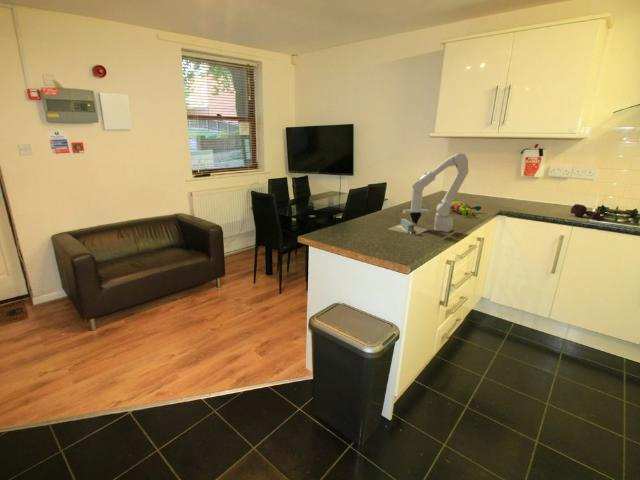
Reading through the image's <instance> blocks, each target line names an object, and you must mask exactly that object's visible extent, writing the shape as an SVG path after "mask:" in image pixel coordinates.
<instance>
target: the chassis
mask: <svg viewBox="0 0 640 480" xmlns="http://www.w3.org/2000/svg"><path fill="white" fill-rule="evenodd" d="M398 226H401V223H399V224H396V225H395V226H392V227H388V230H391V231H396V232H400V233H405V234H409V235H414V236H415V235H416V236H417V235H420V234H421V233H424V232H426V231H428V230H429V229H428V228H422V227H418V226H411V227H410V232H409V231H404V230H402V229H401V228H396V227H398Z"/></svg>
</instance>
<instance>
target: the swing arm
mask: <svg viewBox="0 0 640 480" xmlns="http://www.w3.org/2000/svg"><path fill="white" fill-rule="evenodd" d="M400 224H401V226H403V227H404V228H405V229H407V230H410V227H411V226H414V227H417V225H416V223H413V222H412V221H410V220H408V219H406V218H401V219H400Z"/></svg>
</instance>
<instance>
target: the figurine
mask: <svg viewBox="0 0 640 480" xmlns="http://www.w3.org/2000/svg"><path fill="white" fill-rule="evenodd" d="M570 214H572V215H574V216H575V217H577V218H582V217H584V215H585V216H587V217H588V218H592V219H594V220H595V221H599V222H600V221H601V220H603V219H604V218H605V214H602V215H601V213H599V212H597V211H594V210H593V211H592V210H588V208H587V207H586V206H585V205H584V204H580V203H577V204H574V205H573V206H571V208H570Z"/></svg>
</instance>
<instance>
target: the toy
mask: <svg viewBox="0 0 640 480" xmlns="http://www.w3.org/2000/svg"><path fill="white" fill-rule="evenodd" d="M473 210H475V211H478V212H479V211H480V210H482V206H481V205H476V206H471V205H468V203H466V202H463V201H457V200H456V201H452V205H451V207H450V211H453V212H456V213H458V214H460V215H461V216H460V217H462V218H463V217H464V218H465V217H468V218H471V217H472V218H473ZM467 213H468V214H467Z"/></svg>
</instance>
